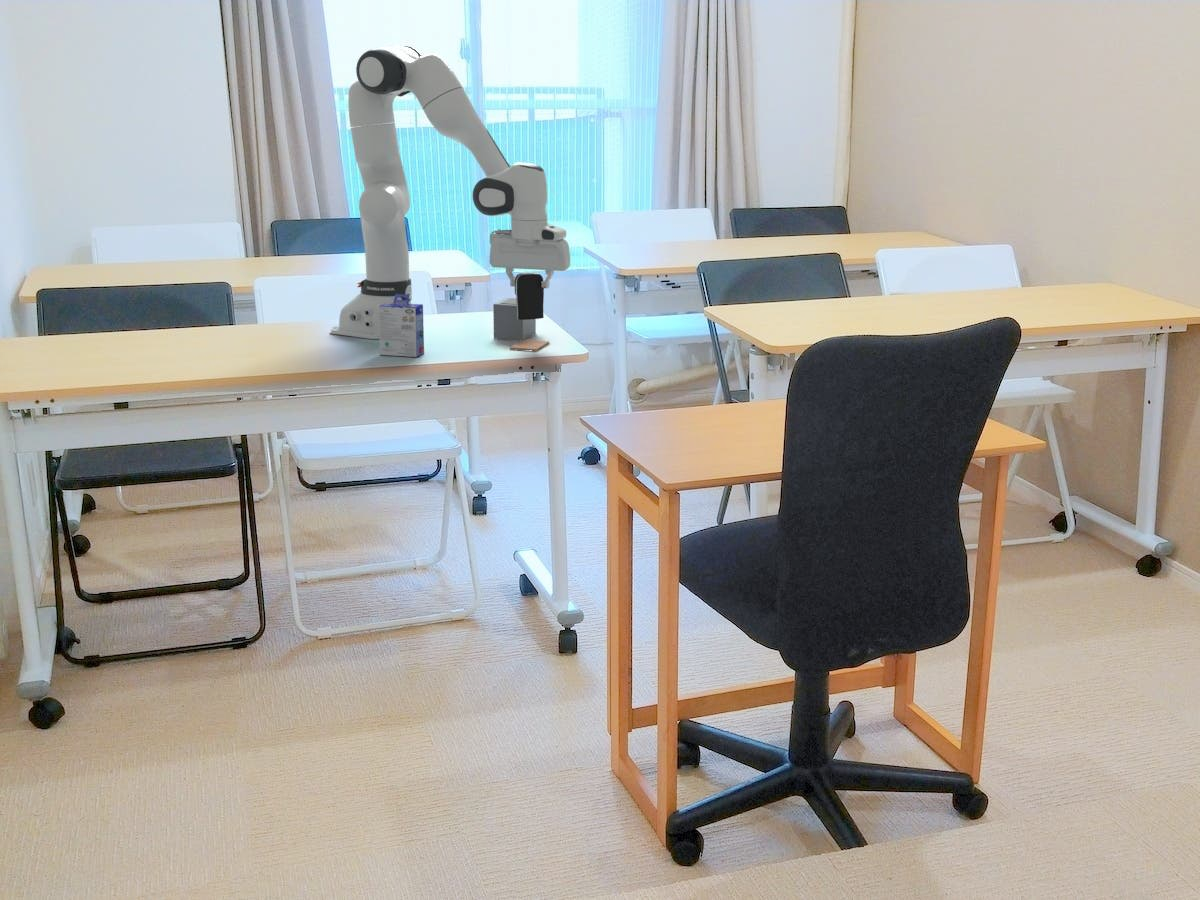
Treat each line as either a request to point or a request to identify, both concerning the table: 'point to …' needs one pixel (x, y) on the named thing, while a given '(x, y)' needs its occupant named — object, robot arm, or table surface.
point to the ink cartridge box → (401, 328)
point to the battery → (529, 296)
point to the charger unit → (511, 321)
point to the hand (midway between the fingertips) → (529, 287)
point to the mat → (529, 345)
